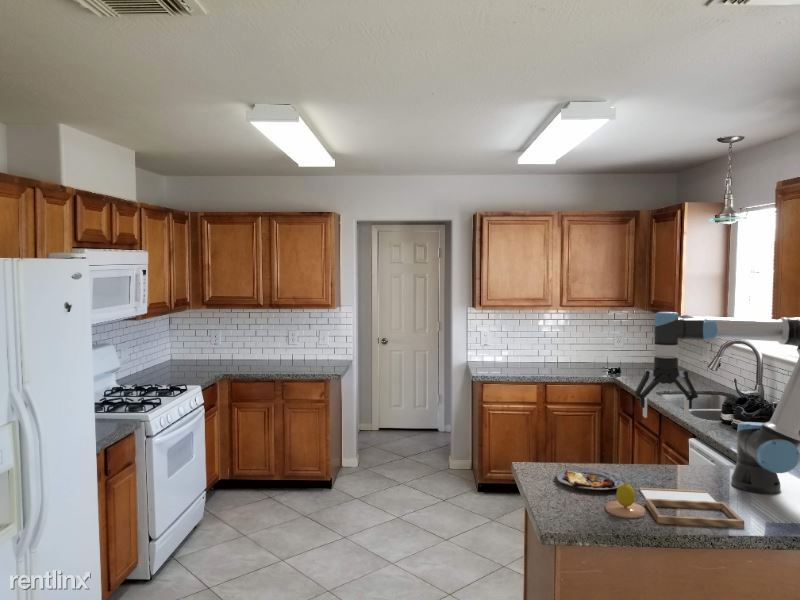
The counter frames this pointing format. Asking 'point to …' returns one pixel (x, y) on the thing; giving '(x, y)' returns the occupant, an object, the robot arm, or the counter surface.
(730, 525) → the wooden frame
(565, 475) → the food plate
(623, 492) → the lemon
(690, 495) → the lid
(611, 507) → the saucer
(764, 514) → the counter surface
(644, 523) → the counter surface
